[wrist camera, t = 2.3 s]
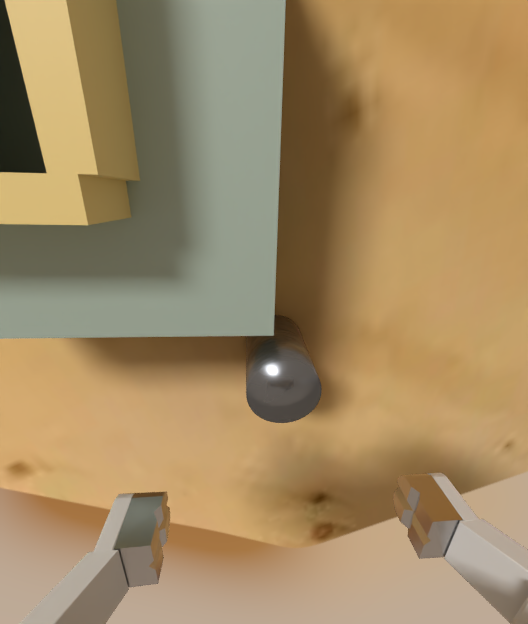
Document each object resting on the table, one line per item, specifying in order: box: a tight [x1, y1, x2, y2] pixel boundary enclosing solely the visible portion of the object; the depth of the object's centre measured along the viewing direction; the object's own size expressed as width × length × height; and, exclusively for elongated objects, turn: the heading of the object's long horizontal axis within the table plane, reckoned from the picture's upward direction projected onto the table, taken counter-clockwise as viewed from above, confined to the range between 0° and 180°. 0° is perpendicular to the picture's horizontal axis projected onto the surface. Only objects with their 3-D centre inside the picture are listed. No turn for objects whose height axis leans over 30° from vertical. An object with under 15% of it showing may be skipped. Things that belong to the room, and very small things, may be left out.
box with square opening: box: [0, 0, 286, 339], centre depth 10 cm, size 16×16×12 cm
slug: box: [246, 315, 321, 423], centre depth 18 cm, size 4×4×6 cm
